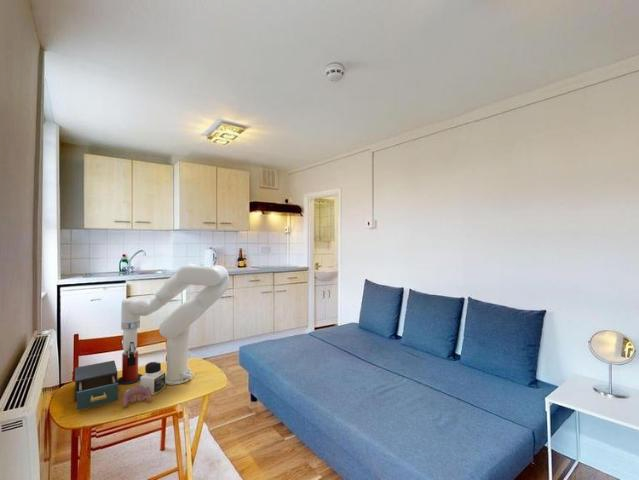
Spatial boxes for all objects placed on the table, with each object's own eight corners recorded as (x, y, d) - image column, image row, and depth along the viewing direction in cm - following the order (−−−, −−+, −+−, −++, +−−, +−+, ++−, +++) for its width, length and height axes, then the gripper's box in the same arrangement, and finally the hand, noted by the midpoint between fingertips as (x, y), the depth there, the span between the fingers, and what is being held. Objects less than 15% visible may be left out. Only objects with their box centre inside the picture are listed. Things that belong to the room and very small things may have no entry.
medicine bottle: (154, 395, 136) (154, 367, 135) (139, 393, 137) (140, 365, 137) (165, 387, 143) (165, 360, 142) (151, 385, 144) (151, 359, 144)
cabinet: (117, 391, 138) (117, 371, 138) (74, 401, 129) (75, 380, 129) (114, 378, 151) (114, 360, 151) (75, 386, 142) (75, 367, 142)
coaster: (148, 376, 153) (148, 375, 153) (129, 386, 143) (129, 385, 143) (131, 373, 156) (131, 372, 156) (111, 382, 146) (111, 381, 146)
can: (129, 382, 146) (129, 355, 145) (118, 380, 148) (118, 353, 147) (141, 376, 152) (141, 350, 152) (130, 374, 154) (131, 348, 154)
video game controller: (150, 401, 133) (149, 384, 136) (151, 401, 130) (150, 383, 132) (122, 408, 128) (122, 389, 130) (122, 408, 124) (122, 388, 127)
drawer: (119, 404, 126) (119, 387, 126) (76, 415, 118) (76, 397, 118) (114, 386, 141) (115, 371, 141) (76, 395, 133) (76, 379, 133)
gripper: (119, 321, 154) (118, 358, 154) (123, 330, 140) (122, 371, 140) (137, 319, 158) (136, 355, 159) (142, 328, 145) (142, 367, 145)
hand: (130, 362), depth 150 cm, fingers open, 6 cm apart
